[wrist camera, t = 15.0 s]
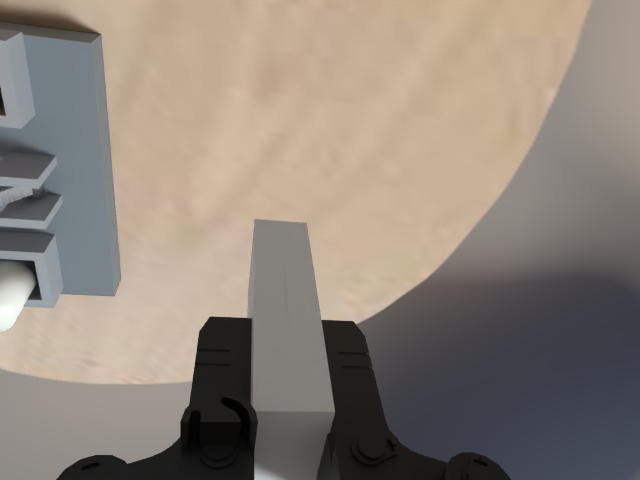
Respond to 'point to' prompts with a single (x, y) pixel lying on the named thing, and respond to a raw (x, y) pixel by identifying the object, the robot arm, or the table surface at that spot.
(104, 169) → the panel
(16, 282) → the button ivory
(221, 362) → the robot arm
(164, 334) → the table surface
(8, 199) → the lever
